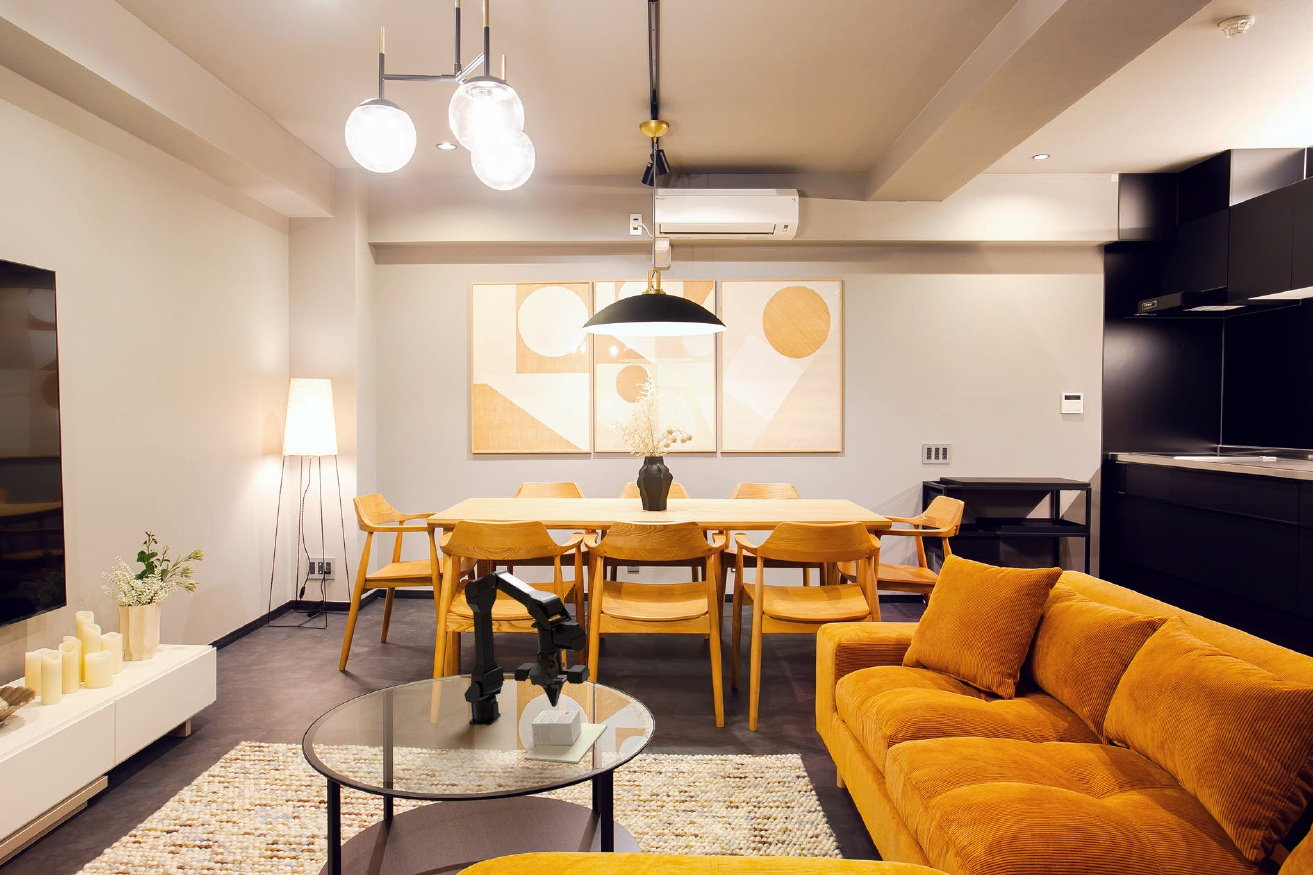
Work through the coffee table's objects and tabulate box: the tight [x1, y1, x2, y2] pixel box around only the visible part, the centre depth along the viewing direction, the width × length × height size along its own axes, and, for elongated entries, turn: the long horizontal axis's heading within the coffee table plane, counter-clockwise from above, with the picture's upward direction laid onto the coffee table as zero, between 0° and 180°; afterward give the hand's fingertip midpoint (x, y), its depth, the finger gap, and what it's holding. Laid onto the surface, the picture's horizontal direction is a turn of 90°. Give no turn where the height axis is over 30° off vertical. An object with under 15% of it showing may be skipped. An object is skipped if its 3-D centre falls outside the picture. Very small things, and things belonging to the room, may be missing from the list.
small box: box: [531, 710, 582, 746], centre depth 182 cm, size 8×6×10 cm
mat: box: [524, 722, 609, 764], centre depth 181 cm, size 14×20×1 cm
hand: (554, 706), depth 182 cm, fingers closed
